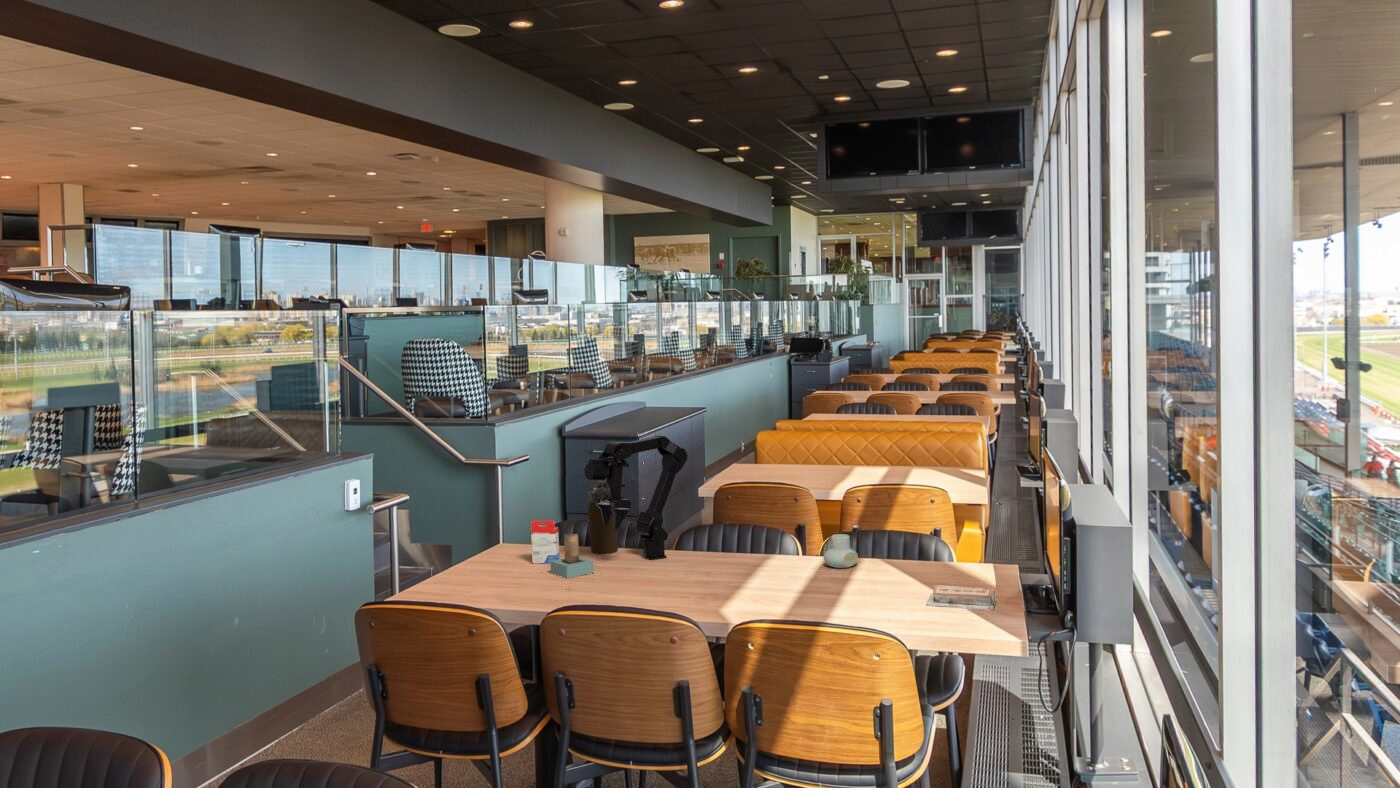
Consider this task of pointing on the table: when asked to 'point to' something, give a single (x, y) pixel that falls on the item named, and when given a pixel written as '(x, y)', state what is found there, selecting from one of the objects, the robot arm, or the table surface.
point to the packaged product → (962, 597)
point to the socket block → (572, 568)
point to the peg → (571, 548)
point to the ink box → (544, 542)
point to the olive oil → (601, 530)
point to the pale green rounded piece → (840, 552)
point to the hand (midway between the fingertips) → (610, 527)
